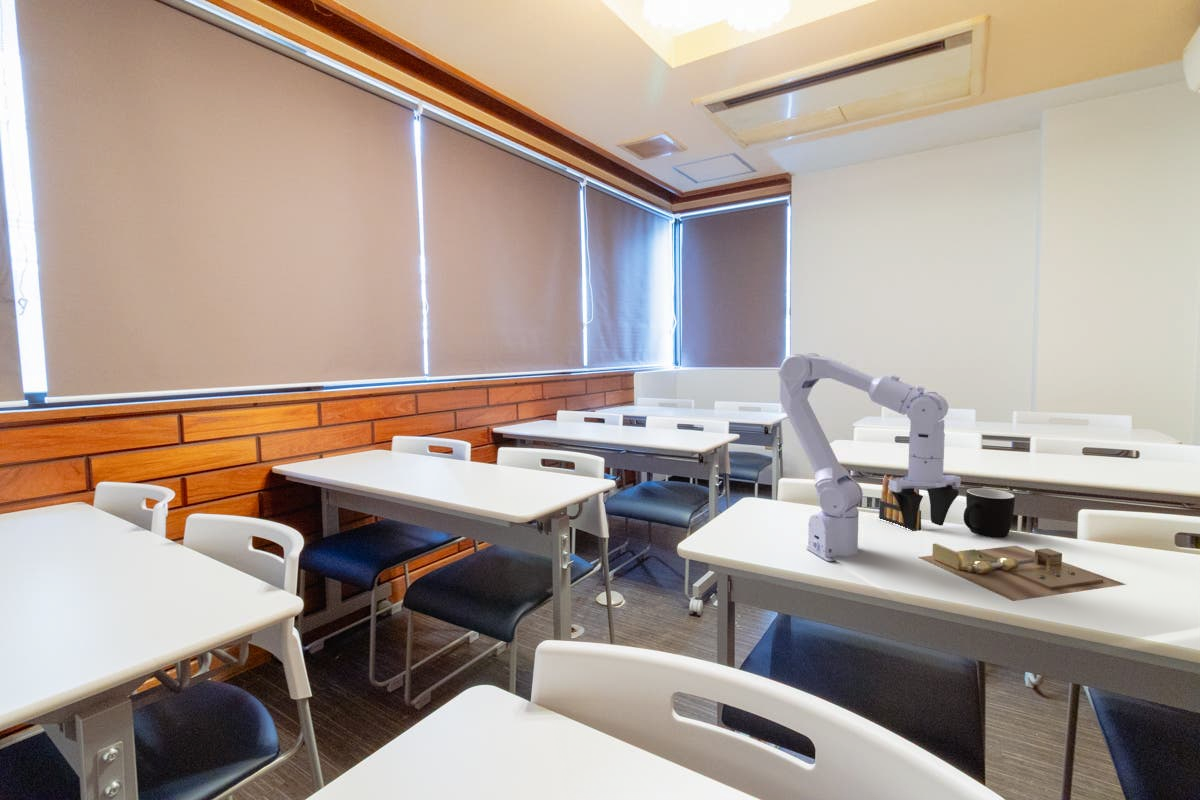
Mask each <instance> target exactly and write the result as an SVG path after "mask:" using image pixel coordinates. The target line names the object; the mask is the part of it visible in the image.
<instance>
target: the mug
mask: <svg viewBox="0 0 1200 800" xmlns="http://www.w3.org/2000/svg"><path fill="white" fill-rule="evenodd" d="M965 494H966V498H965V499H966V507H965V509H964V511H963V522H964V525H965V526H966V527H967V528H968V529H969V531H970V532H971V533H972V534H974V535H978V536H982V537H987V538H992V539H993V538H994V539H1004V538H1007V537H1008V536H1009V534H1010V530H1011V527H1012V523H1013V519H1014V512H1015V504H1016V502H1015V501H1016V500H1015V499H1016V497H1015V494H1013V493H1010V492H1009V491H1004V490H999V489H993V488H982V487H980V488H977V487H976V488H969V489H967V490H966V493H965Z"/></svg>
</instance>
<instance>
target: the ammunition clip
mask: <svg viewBox="0 0 1200 800" xmlns="http://www.w3.org/2000/svg"><path fill="white" fill-rule="evenodd" d="M883 476H884V477H883V479H882V489H881V496H880V497H881V500H880V501H879V510H878V511H879V512H878V513H879V514H878V519H879V518H880V519H883V520H886V521H889V522H892V523H895V524H898V525H900V526H903V527H905V528H908V529H910V530H912V531H911V532H917V531H922V510H920V509H921V507H920V506H921V504H920V505H919V509H918V516H917V525H916V528H910V527H907V526H905V525H904V521H903V517H902V513H901V510H900V507H899V504H898V502H897V500H896V498H895V497H894V495H893V494H892V491H891V490H889V480H895V479H894V477H893V475H891V476H890V477H889V478H888V476H887V474H886V473H885V474H884V475H883ZM899 478H900V477H899V476H898V477H897V476H896V479H899ZM914 492H916V494H919V495H920V489H917V490H914ZM910 530H909V531H910Z"/></svg>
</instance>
